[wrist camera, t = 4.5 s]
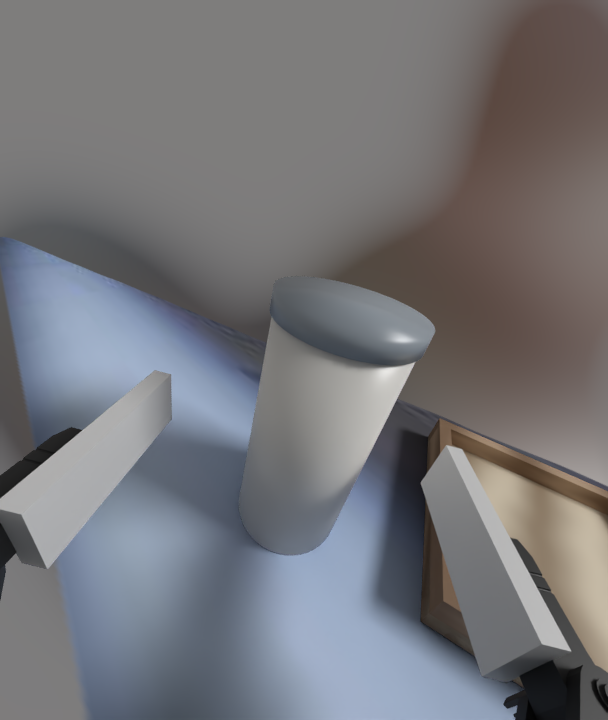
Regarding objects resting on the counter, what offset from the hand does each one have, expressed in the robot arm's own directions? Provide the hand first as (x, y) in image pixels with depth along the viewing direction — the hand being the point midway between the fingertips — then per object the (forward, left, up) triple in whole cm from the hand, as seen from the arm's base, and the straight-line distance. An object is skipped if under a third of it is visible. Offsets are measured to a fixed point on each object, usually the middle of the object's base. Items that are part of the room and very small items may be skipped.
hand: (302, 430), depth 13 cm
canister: (-1, -2, -8) cm, 8 cm away
